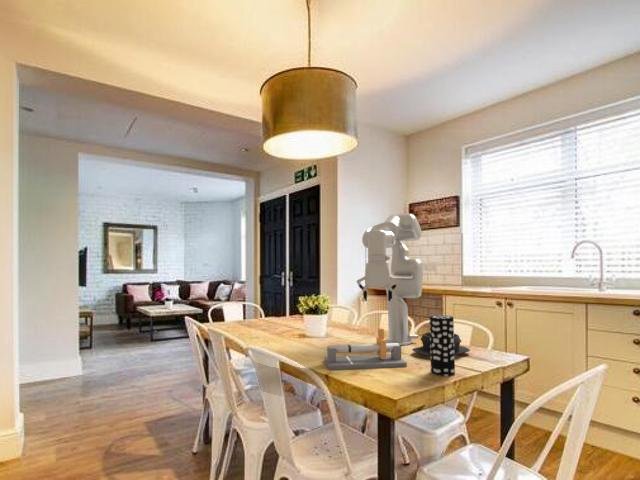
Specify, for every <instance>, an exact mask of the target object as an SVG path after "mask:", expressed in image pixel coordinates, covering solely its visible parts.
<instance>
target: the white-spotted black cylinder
mask: <svg viewBox="0 0 640 480" xmlns="http://www.w3.org/2000/svg"><path fill="white" fill-rule="evenodd" d="M454 327H455V326H454V316H452V315H451V316H450V315H441V314H440V315H439V314H438V315H437V314H436V315H429V332H430V355H429V357H430V373H431V374H432V375H435V376H440V377H451V376H452V377H453V376H455V375H456V365H455V361H456V359H455V356H456V355H455V356H454V334H455V328H454Z"/></svg>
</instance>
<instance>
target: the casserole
mask: <svg viewBox="0 0 640 480" xmlns="http://www.w3.org/2000/svg"><path fill="white" fill-rule="evenodd" d="M420 341H421V343H422V346H418V347H414V348H412V351H413V352H414V353H416V354H418V355H424V356H430V331H428V332H424V333H423V334H422V335H421V338H420ZM461 343H462V340H461V339H460V335H459V334H456V333H454V356H458V355H461V354H463V353H468V352H470V351H471V349H470V348H468V347H465V346H462V345H460V344H461Z"/></svg>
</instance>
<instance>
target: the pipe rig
mask: <svg viewBox="0 0 640 480" xmlns="http://www.w3.org/2000/svg"><path fill="white" fill-rule="evenodd" d="M379 351H380V344H377V343H362V344H360V343H358V344H331V345H329V344H328V346H327V347H326V356H324V362H325V364H326V366H327V369H328V371H333V370H335V371H337V369H339V370H357V369H358V370H359V369H363V370H364V369H382V368H406V367H407V365H408V364H407V361H405V360H404V359H403V358H402V345H399V343H386V352H390V354H388V353H386V358H385V359H381V358H380V357H379V356H378V355H377V354H364V355H361V354H360V355H359V354H358V355H337V354H346V353H347V354H348V353H349V354H350V353H377V352H379Z"/></svg>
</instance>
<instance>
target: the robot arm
mask: <svg viewBox="0 0 640 480" xmlns="http://www.w3.org/2000/svg"><path fill="white" fill-rule="evenodd" d="M421 236H422V229H421V226H420V223H419V221H418V219H417V217H416V216H415V215H414V214H412V213H397V214H396V213H395V214H391V215H389V216H388V217H387V218H386V220H385V221H383V222H381V223H378V224H374V225H373V226H370V227H369V228H367V229H366V230H365V231H364V233H363V235H362V239H361V241H362V246H363V247H364V248H366V249H367V262H366V263H365V268H364V269H365V271H364V276H363V277H361V278H358V279H357V280H356V283H357V286H358V287H359V289H361V290H362V291H363V293H362V295H363V297H362V298H363V300H364V301H365V302H367V301H368V291H367V289H368V288H369V287H370V288H372V287H373V288H377V287H378V288H379V287H383V288H384V287H385V292H386V299H387V312H388V313H387V316H388V317H387V318H388V321H387V322H388V329H387V330H388V338H386V339H385V340H386V343H399V345H400V346H406V345H411V344H412V340H413V339H414V340H419V335H418V334H410V333H409V324H408V323H409V315H408V314H409V313H408V311H409V310H408V309H409V308H408V304H407V303H406V301H405V300H404V299H418V298H420V297H421V296H422V292H423V280H424V278H423V277H424V265H423V262H422V260H421V259H419V258H410V250H409V248H408V247H407V246H406V244H404V243H403V242H411V241H412V242H413V241H419V240H420V239H421ZM388 248H391V250H392V253H391V254H392V255H391V257H390V256H387V249H388ZM390 258H391V259H390ZM390 260H391V262H390V264H391V265H390V266H389V263H388V262H387V261H390ZM389 268H390V269H389ZM390 273H391V275H390ZM394 277H395V278H394ZM363 281H364V286H363V285H362V283H361V282H363Z"/></svg>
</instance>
